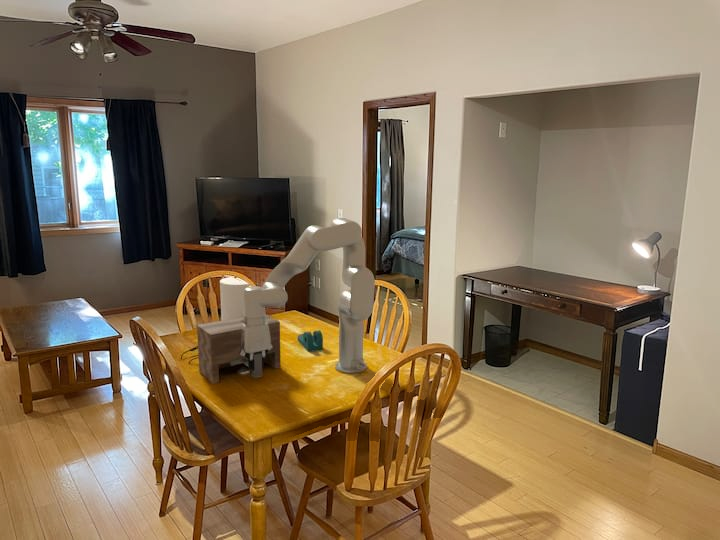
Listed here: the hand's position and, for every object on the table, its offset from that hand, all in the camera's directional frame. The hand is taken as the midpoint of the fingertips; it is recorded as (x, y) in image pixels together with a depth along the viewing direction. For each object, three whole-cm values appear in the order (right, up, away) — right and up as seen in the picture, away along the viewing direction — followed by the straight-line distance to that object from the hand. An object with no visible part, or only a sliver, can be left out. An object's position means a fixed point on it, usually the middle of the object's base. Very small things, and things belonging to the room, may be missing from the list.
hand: (256, 367), depth 200 cm
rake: (-4, -2, +6) cm, 8 cm away
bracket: (+15, +2, +42) cm, 45 cm away
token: (-7, -4, +10) cm, 13 cm away
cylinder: (-16, +4, +46) cm, 49 cm away
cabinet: (-9, -3, +13) cm, 16 cm away
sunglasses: (-29, -1, +24) cm, 38 cm away
